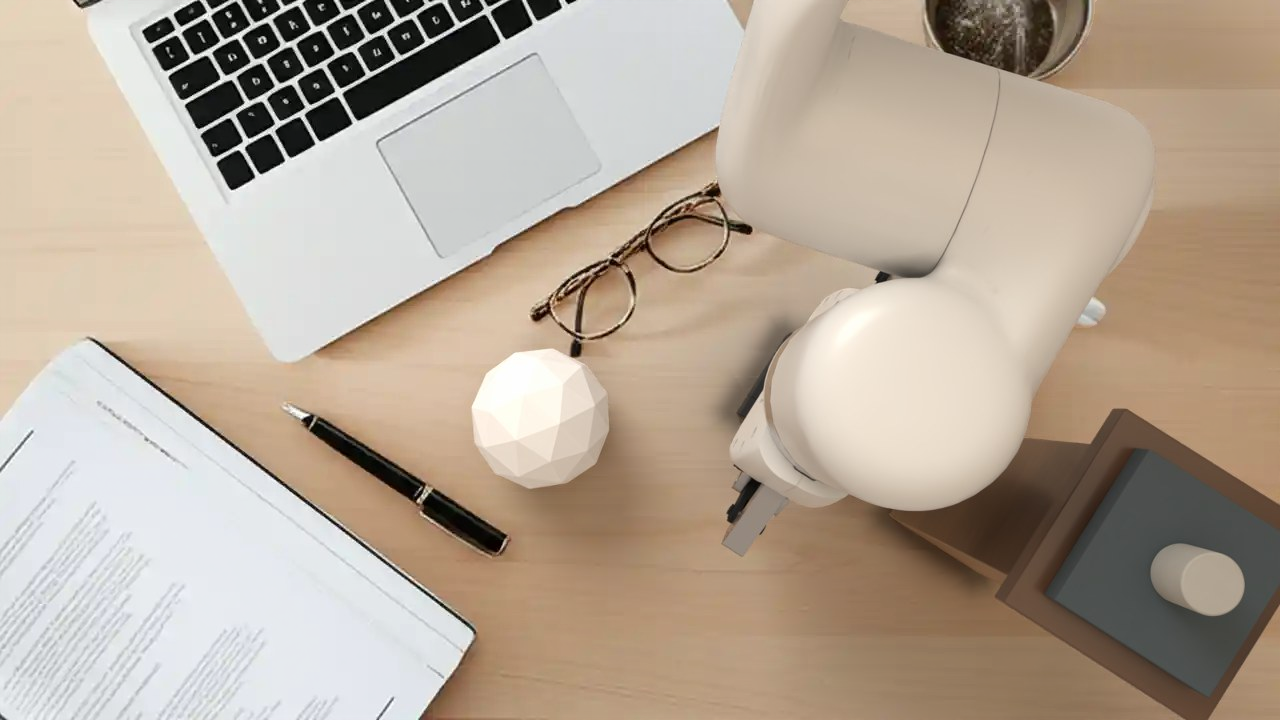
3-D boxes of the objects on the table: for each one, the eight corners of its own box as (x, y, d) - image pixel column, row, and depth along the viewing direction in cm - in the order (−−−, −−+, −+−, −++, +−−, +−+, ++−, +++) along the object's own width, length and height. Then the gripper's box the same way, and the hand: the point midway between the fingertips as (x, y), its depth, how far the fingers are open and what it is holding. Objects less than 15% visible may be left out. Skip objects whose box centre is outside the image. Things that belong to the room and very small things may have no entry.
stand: (937, 406, 68) (1125, 407, 40) (1053, 479, 67) (1325, 533, 39) (864, 520, 68) (1002, 602, 40) (980, 594, 67) (1202, 730, 39)
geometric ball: (559, 383, 71) (603, 314, 65) (599, 500, 68) (649, 440, 62) (442, 398, 67) (476, 327, 61) (478, 522, 64) (518, 461, 58)
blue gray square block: (1135, 447, 40) (1181, 451, 36) (1285, 542, 39) (1347, 555, 36) (1043, 594, 40) (1080, 613, 36) (1192, 689, 39) (1245, 718, 36)
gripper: (891, 175, 48) (831, 238, 65) (667, 526, 47) (666, 497, 64) (1045, 271, 47) (944, 309, 65) (822, 626, 47) (780, 570, 64)
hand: (806, 403), depth 64 cm, fingers open, 9 cm apart
